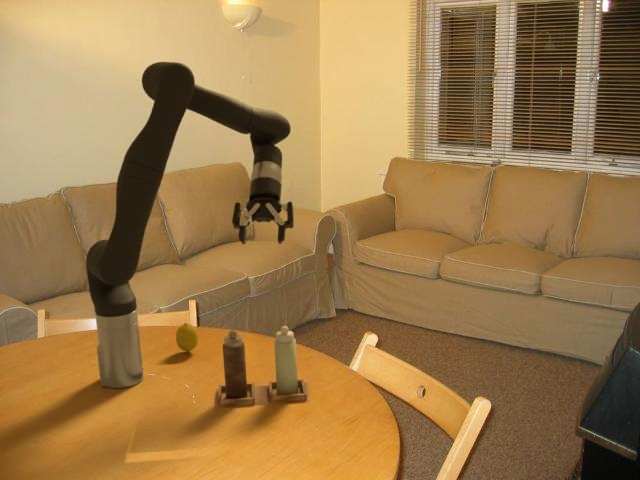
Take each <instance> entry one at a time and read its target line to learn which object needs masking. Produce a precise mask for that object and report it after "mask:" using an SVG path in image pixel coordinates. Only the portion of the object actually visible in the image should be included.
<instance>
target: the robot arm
mask: <svg viewBox="0 0 640 480" xmlns="http://www.w3.org/2000/svg"><path fill="white" fill-rule="evenodd" d="M195 81H196V80H195V76H194V73H193V70H192V69H191V68H190V67H189V66H188V65H187V64H185V63H181V62H176V61H158V62H154V63H152V64H150V65H149V66H147V67H146V68H145V70H144V71H143V73H142V76H141V86H142V89H143V91H144V92H145V95H147V97H149V98H150V99H151V100H153V105H152V108H151V112H150V114H149V117H148V118H147V121H146V123H145V125H144V126H143V127H142V129H141V130H140V132H139V133H138V134H137V136H136V137H135V138H134V140H133V141H132V142H131V144H130V145H129V147H128V148H127V151H126V153H125V155H124V158H123V160H122V164H121V166H120V169H119V173H118V176H117V182H116V189H115V190H116V191H115V193H116V194H115V218H114V223H113V224H112V225H113V226H112V228H111V232H110V233H109V238H108V239H101V240H98V241H97V242H94V244H92V245H91V246H90V248H89V250H88V251H87V254H86V258H85V259H86V260H85V265H86V266H85V267H86V275H87V282H88V289H89V295H90V299H91V302H92V304H93V307H94V313H95V321H96V322H95V324H96V332H97V340H98V344H97V347H96V353H97V354H96V355H97V362H98V372H99V379H100V386H101V387H108V388H110V389H111V388H112V389H123V388H129V387H132V386H135V385H137V384H139V383H141V382H142V381H143V379H144V368H143V358H142V357H143V356H142V348H141V345H142V344H141V337H140V324H139V318H138V306H137V299H136V296H135V294H134V291H133V290H132V288H131V285H130V281H131V280H132V278H133V277H134V275H136V271H137V269H138V266H139V261H140V257H141V253H142V252H141V251H142V247H143V241H144V236H145V233H146V229H147V225H148V222H149V220H150V217H151V214H152V211H153V208H154V204H155V202H156V198H157V195H158V192H159V189H160V187H161V184H162V180H163V178H164V174H165V172H166V171H165V170H166V168H167V164H168V160H169V157H170V155H171V152H172V149H173V145H174V142H175V139H176V136H177V133H178V130H179V127H180V125H181V122H182V120H183V118H184V116H185V113H186V111H187V110H189V111H191V112H193V113H196V114H199V115H201V116H202V117H206V118H208V119H209V120H211V121H213V122H216V123H217V124H219V125H221V126H224V127H226V128H228V129H231V130H232V131H235V132H237V133H240V134H242V135H249V139H250V140H249V141H250V144H251V148H252V152H253V163H252V164H253V165H252V170H251V175H250V176H251V177H250V187H249V194H248V195H249V197H248V202H247V203H246V204H241V203H240V202H238V201H236V203H235V204H234V209H233V212H232V213H233V214H232V220H231V222H232V226H233V229H235V230H237V229H238V230H239V231H238V239H239V242H240V243H241V244H242V245H246V243H247V229H248V228H250V226H251V227H252V225H253V224H254V223H256V222H257V223H263V222H265V223H271V222H272V221H273V223H274V224H275V225H276V226H277V227H278V229H277V243H278V244H279V245H281V244H282V243H283V242H284V241H286V238H285V237H286V230H287V229H293V228H294V205H293V202H292V201H287V203H281V201H282V186H283V175H282V173H283V172H282V168H283V167H282V166H283V153H282V150H281V149H280V148H279V147H278V146H276V145H277V144H279V143H280V142H283V141H284V140H285V139H287V138H288V137H289V136H290V133H291V128H292V127H291V123H290V122H289V120H288V119H287V118H286V116H284V115H283V114H281V113H280V112H277V111H274V110H270V109H265V108H260V107H253V106H251V105H249V104H246V103H245V102H243V101H241V100H238V99H236V98H234V97H232V96H230V95H226V94H223V93H221V92H217V91H213V90H210V89H209V88H206V87H202V86H201V85H198V84H196V82H195ZM245 211H247V213H246V214H245V215H244V218H242V220H241V215H243V214H244V213H245ZM282 211H284V213H285V214H286V215H287V219H286V220H285V221H284V219H283V218H282V217H281V216H280V213H281V212H282Z"/></svg>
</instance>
